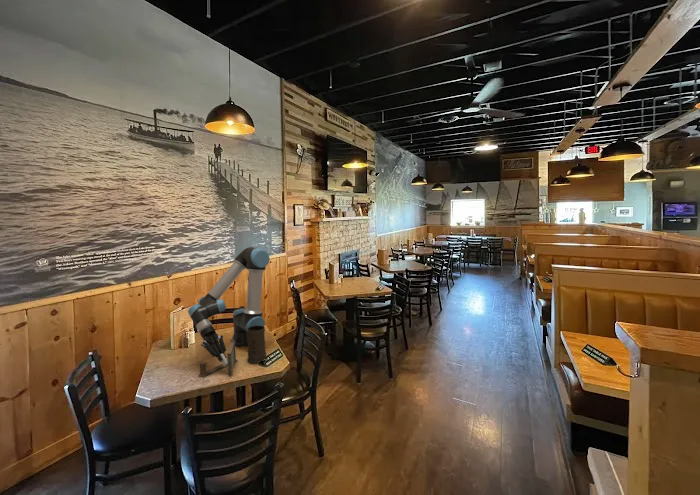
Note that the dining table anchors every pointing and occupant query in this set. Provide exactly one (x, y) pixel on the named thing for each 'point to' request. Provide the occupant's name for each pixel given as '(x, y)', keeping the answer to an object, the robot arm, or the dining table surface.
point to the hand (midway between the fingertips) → (226, 364)
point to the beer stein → (256, 344)
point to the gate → (231, 357)
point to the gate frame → (205, 373)
